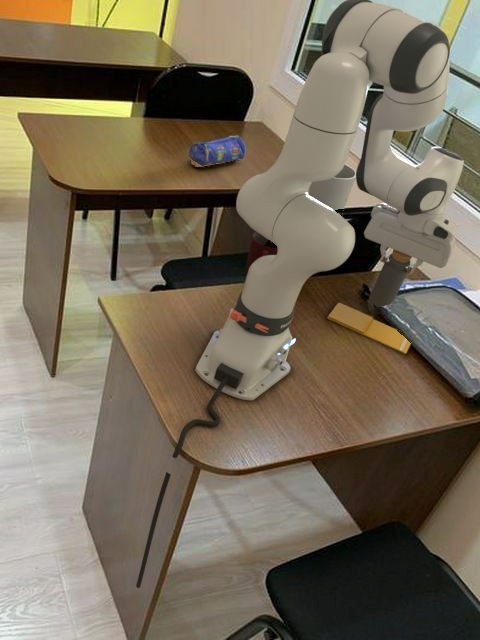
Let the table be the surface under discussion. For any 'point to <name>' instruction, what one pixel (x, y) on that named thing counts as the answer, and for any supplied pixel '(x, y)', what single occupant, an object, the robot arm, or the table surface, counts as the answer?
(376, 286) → the bottle
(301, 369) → the table surface
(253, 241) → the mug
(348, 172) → the cylinder vase
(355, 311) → the flat rectangular block
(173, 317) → the table surface
